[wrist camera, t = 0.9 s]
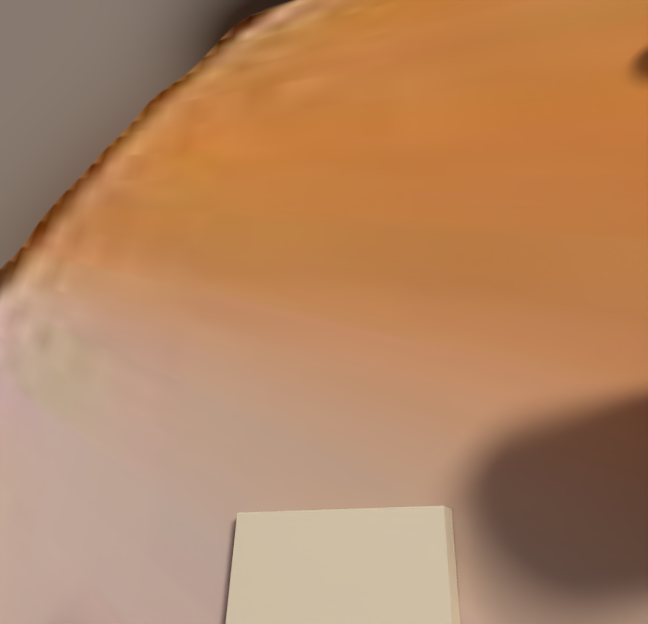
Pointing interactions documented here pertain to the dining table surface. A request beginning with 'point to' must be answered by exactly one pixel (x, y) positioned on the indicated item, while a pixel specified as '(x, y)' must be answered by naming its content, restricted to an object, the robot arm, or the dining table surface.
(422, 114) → the dining table surface
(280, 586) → the plate
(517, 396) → the dining table surface
